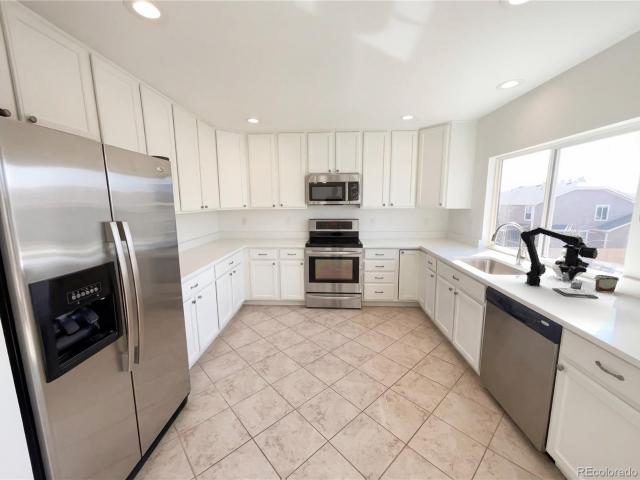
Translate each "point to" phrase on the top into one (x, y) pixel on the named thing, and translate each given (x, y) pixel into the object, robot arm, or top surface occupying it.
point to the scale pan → (575, 291)
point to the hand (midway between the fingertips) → (567, 278)
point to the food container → (605, 283)
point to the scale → (575, 294)
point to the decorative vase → (556, 268)
